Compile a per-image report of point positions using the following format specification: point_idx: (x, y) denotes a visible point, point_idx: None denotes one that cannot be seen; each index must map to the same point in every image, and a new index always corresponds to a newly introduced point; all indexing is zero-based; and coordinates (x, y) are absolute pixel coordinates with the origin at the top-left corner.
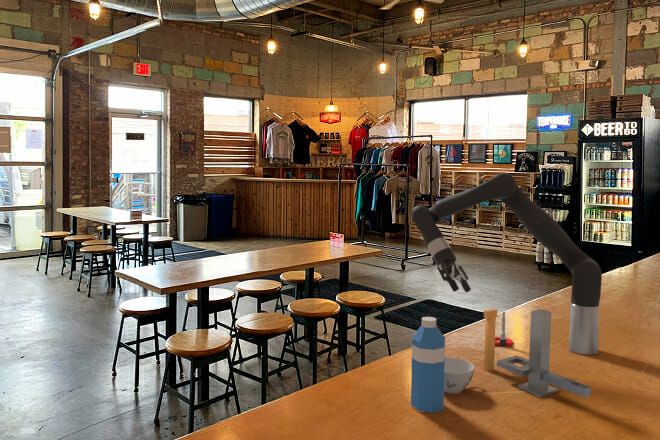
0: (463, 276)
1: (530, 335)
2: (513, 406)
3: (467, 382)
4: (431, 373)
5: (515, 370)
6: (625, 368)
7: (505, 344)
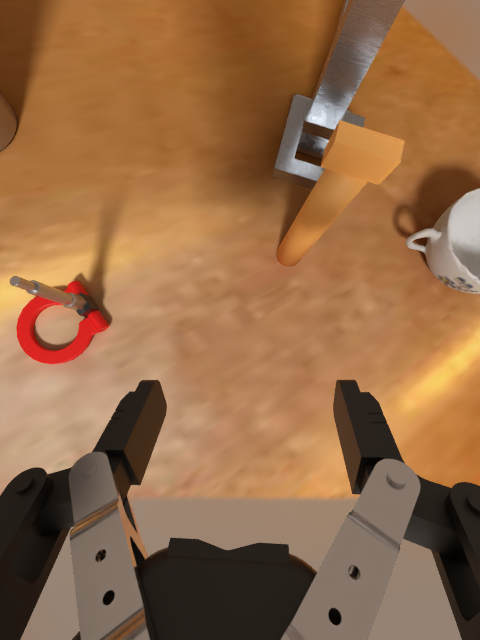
0: (95, 503)
1: (402, 4)
2: (419, 140)
3: (472, 208)
4: None
5: None
6: (53, 22)
7: (89, 296)
